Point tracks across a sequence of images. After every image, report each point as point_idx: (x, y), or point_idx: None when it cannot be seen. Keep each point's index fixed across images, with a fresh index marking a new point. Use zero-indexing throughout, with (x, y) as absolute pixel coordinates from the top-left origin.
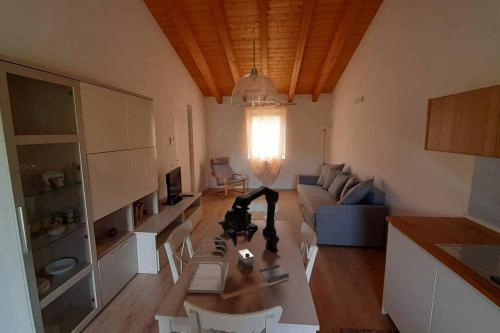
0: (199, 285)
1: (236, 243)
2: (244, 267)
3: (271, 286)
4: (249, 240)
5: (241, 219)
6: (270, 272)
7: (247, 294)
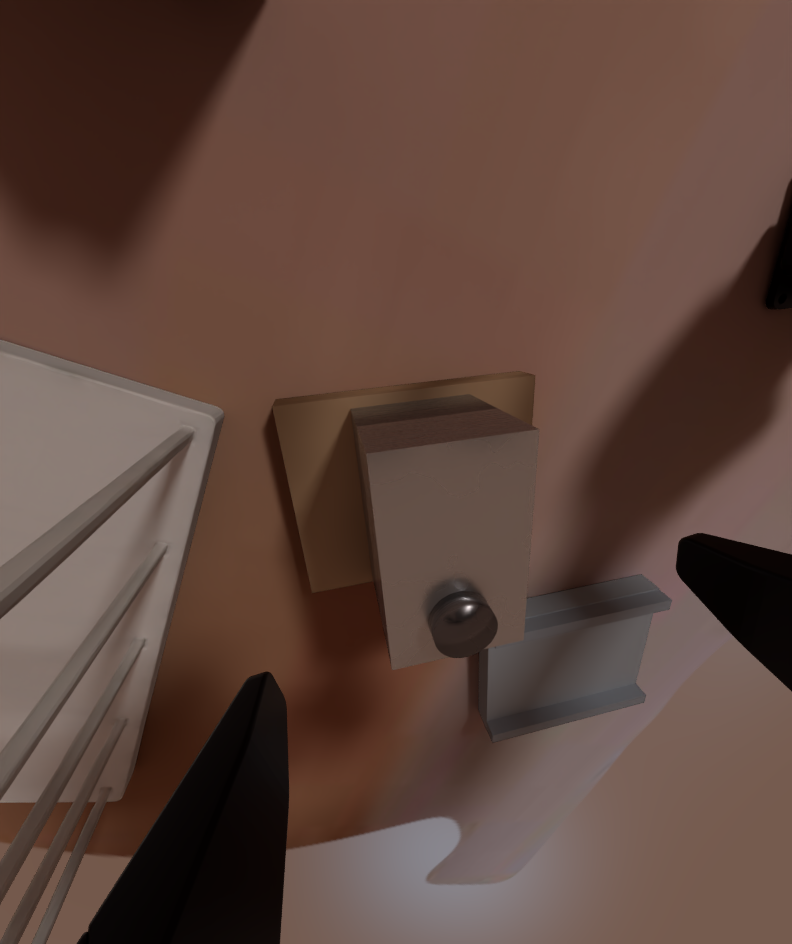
0: None
1: (273, 895)
2: (373, 579)
3: (477, 730)
4: (738, 633)
5: None
6: (547, 657)
7: (307, 777)
